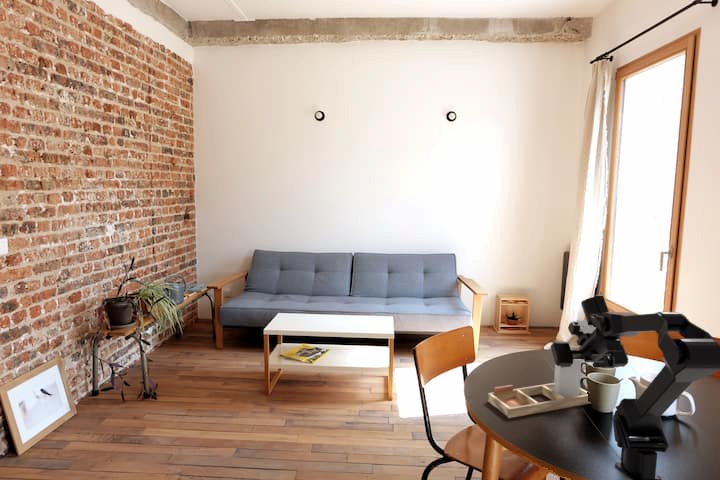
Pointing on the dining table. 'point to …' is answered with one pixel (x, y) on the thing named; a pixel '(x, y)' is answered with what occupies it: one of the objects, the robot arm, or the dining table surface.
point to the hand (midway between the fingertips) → (577, 366)
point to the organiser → (532, 400)
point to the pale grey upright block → (568, 380)
